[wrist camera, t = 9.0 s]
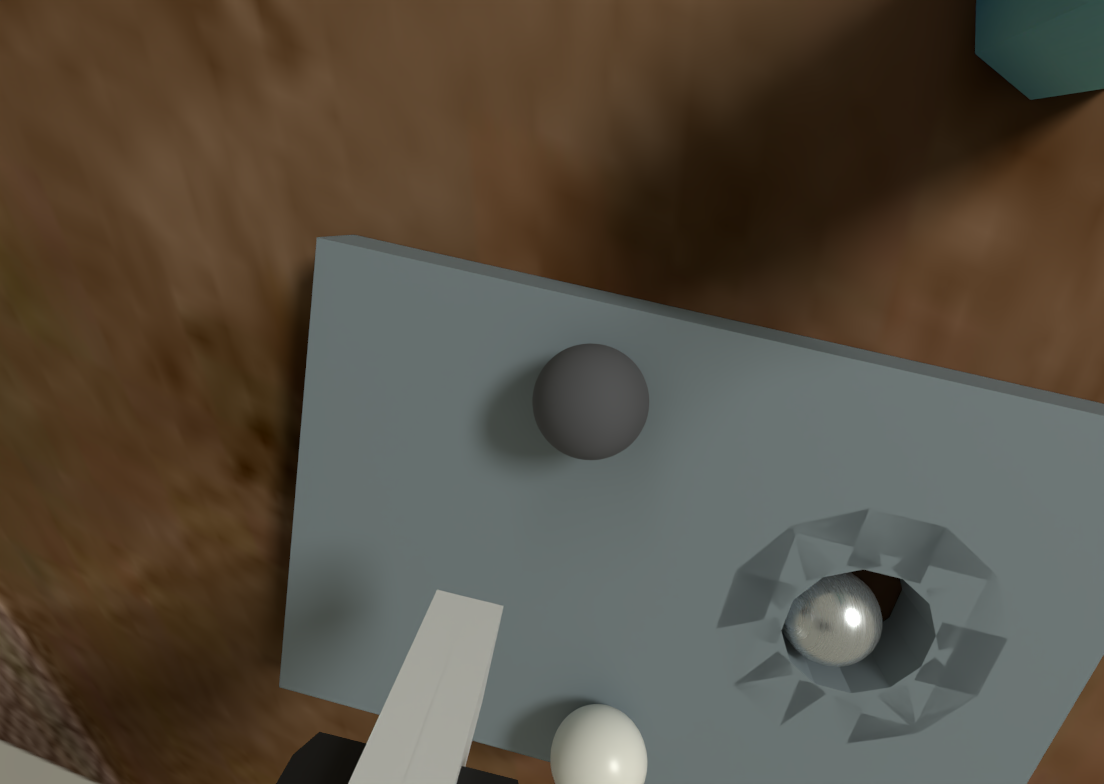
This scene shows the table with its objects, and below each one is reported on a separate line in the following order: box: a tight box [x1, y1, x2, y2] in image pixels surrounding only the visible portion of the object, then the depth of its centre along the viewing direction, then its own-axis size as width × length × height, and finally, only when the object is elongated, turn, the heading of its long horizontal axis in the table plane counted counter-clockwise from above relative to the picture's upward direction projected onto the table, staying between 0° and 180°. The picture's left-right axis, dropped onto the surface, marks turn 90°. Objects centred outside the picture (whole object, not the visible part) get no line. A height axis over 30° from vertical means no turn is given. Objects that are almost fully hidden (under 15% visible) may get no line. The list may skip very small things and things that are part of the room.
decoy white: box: [550, 704, 647, 784], centre depth 20 cm, size 3×3×3 cm
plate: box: [279, 235, 1104, 784], centre depth 21 cm, size 26×17×2 cm, turn 78°
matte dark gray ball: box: [532, 343, 649, 460], centre depth 17 cm, size 3×3×3 cm
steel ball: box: [782, 572, 882, 667], centre depth 20 cm, size 3×3×3 cm
